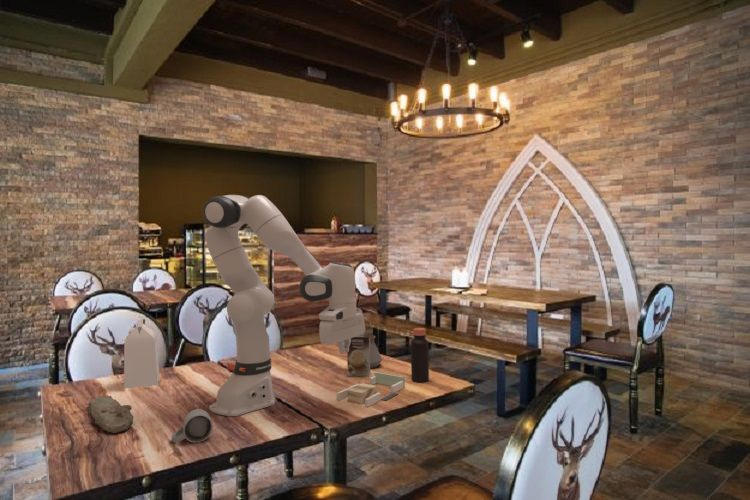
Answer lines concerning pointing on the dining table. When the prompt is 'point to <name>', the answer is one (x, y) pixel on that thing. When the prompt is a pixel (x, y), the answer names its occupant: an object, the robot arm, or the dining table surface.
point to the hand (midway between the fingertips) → (344, 352)
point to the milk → (140, 357)
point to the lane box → (380, 378)
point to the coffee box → (359, 356)
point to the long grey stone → (110, 414)
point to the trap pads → (388, 396)
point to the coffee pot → (374, 353)
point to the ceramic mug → (194, 427)
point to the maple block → (361, 393)
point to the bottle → (419, 356)
